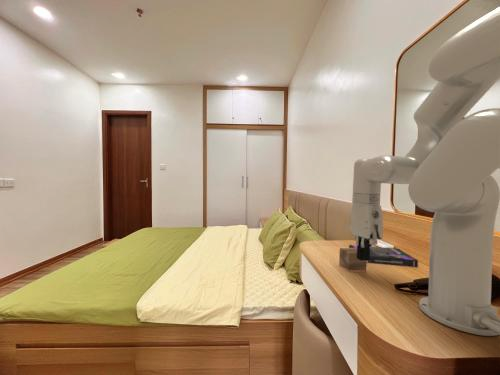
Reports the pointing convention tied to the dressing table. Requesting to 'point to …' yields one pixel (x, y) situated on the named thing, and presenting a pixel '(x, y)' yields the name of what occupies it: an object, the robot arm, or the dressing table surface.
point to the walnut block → (351, 260)
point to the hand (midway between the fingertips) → (363, 259)
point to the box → (390, 257)
